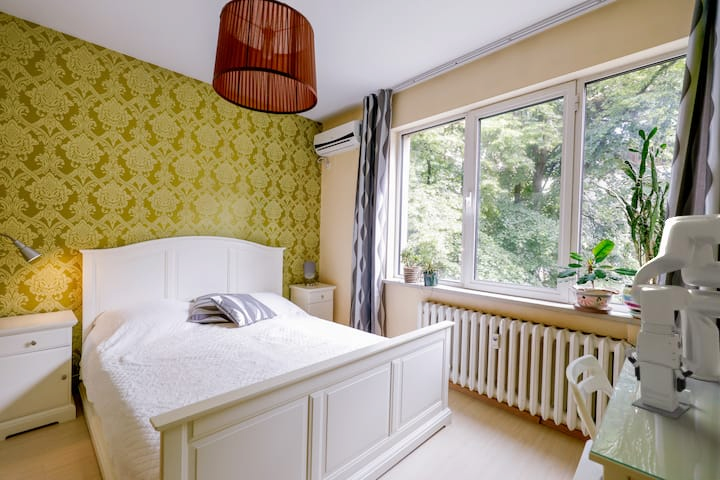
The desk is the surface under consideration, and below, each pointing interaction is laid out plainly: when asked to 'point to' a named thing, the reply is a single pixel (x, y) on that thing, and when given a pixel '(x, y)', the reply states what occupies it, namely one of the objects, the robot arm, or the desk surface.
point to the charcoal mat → (674, 414)
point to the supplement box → (658, 386)
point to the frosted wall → (684, 396)
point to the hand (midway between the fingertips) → (659, 385)
